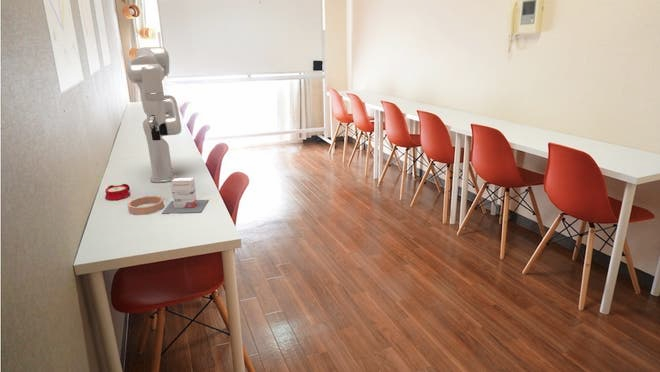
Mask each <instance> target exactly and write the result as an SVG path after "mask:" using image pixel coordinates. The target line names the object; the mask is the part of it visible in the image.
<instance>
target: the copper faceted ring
mask: <svg viewBox="0 0 660 372" xmlns="http://www.w3.org/2000/svg"><path fill="white" fill-rule="evenodd" d="M164 202H165V201H164V198H162V197H161V196H157V195H146V196H141V197H137V198H134V199H131V200H130V201H129V202H128V203H127V208H128V211H129V214H131V215H136V216H137V215H148V214H154V213H157V212H159V211H161V210H162V209H163V208H164V207H165V203H164ZM146 204H151V205H147V206H146ZM140 205H145V206H140Z"/></svg>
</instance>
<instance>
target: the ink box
mask: <svg viewBox="0 0 660 372" xmlns="http://www.w3.org/2000/svg"><path fill="white" fill-rule="evenodd" d="M170 185H171V186H170V187H171V193H172V199H173V200H172V201H174V208H187V207H195V206H196V204H197V200H198V199H197V194H196V192H197V191H196V184H195V178H194V177H179V178H178V177H176V178H174V179H173V180H172V181H170Z"/></svg>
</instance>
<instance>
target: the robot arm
mask: <svg viewBox="0 0 660 372" xmlns="http://www.w3.org/2000/svg"><path fill="white" fill-rule="evenodd" d="M126 71H127V76H128V79H129V81H130V82H131V83H133V84H136V86H137V87H138V89H139V93H140V97H141V104H142V108H143V112H144V114H145V116H146V118H145V119H144V120H143V122H142V128H143V132H144V135H145V138H146V141H147V142H146V143H147V147H148V154H149V161H150V168H151V173H152V176H151V177H149V181H150V182H151V183H155V184H156V183H159V184H161V183H162V184H163V183H168V182H171V181H172V180H173V179H174V178H177V174H175V173H173V166H172V160H171V159H172V158H171V153H170V146H169V143H168V142H167V140H165V139H164V138H163V137H166V136H176V135H177V136H178V135H179V134H181V132H182V122H181V117H180V112H179V107H178V102H177V100H176V98H175V96H173V95H169V94H168V95H167V94H165V93H164V87H163V85H164V84H163V81H164V78H165V77H167V76H168V75H169V74H170V55H169V52H168V51H167V49H166V48H164V47H162V46H150V47H149V46H147V47H139V48H138V49H137V50H136V52H135V57H134V58H131V59H130V60H128V61H127V64H126Z"/></svg>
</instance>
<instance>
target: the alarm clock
mask: <svg viewBox="0 0 660 372" xmlns="http://www.w3.org/2000/svg"><path fill="white" fill-rule="evenodd" d="M130 190H131V188H130V186H129V184H128V183H122V184H121V185H119V184H118V185H113V184H112V185H111V184H110V185H108V186H107V188H105V196H104V198H105V200H108V201H116V202H117V201H119V200H122V199H123V200H124V199H126V198H128V197H130V196H131V192H130Z"/></svg>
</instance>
